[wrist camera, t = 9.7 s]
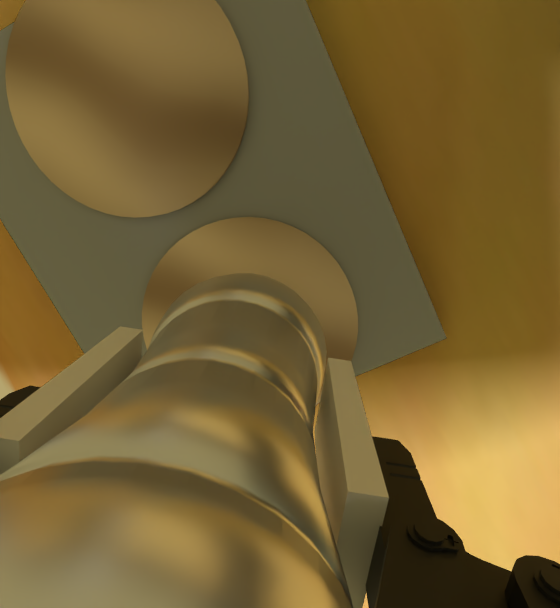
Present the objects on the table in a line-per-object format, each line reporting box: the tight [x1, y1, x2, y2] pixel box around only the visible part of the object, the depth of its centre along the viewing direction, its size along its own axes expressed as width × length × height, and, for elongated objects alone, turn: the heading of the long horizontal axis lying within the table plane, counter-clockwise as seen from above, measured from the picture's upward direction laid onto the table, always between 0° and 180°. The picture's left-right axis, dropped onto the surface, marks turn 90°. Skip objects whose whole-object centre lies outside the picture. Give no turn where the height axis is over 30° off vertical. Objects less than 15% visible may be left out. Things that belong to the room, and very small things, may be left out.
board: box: [0, 0, 446, 376], centre depth 20 cm, size 20×16×1 cm
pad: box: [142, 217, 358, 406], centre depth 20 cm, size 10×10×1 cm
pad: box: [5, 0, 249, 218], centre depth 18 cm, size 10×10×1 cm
